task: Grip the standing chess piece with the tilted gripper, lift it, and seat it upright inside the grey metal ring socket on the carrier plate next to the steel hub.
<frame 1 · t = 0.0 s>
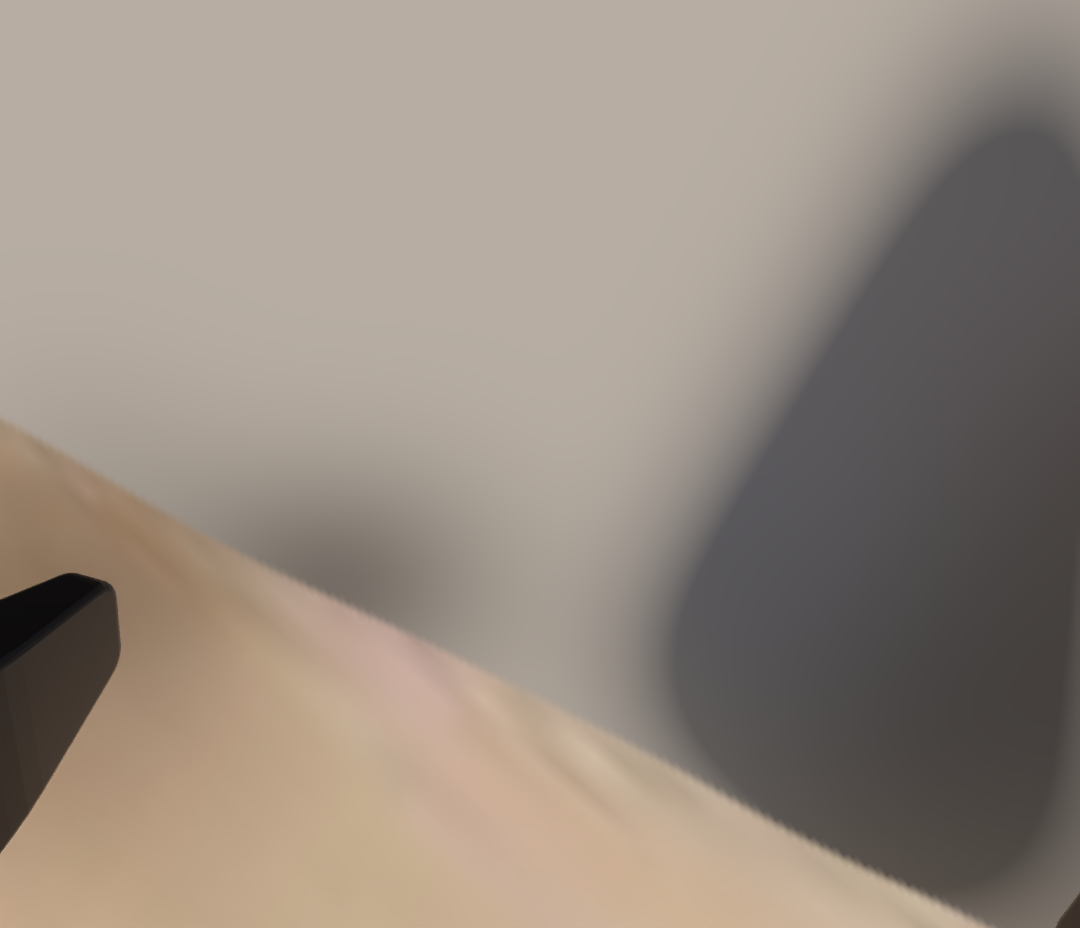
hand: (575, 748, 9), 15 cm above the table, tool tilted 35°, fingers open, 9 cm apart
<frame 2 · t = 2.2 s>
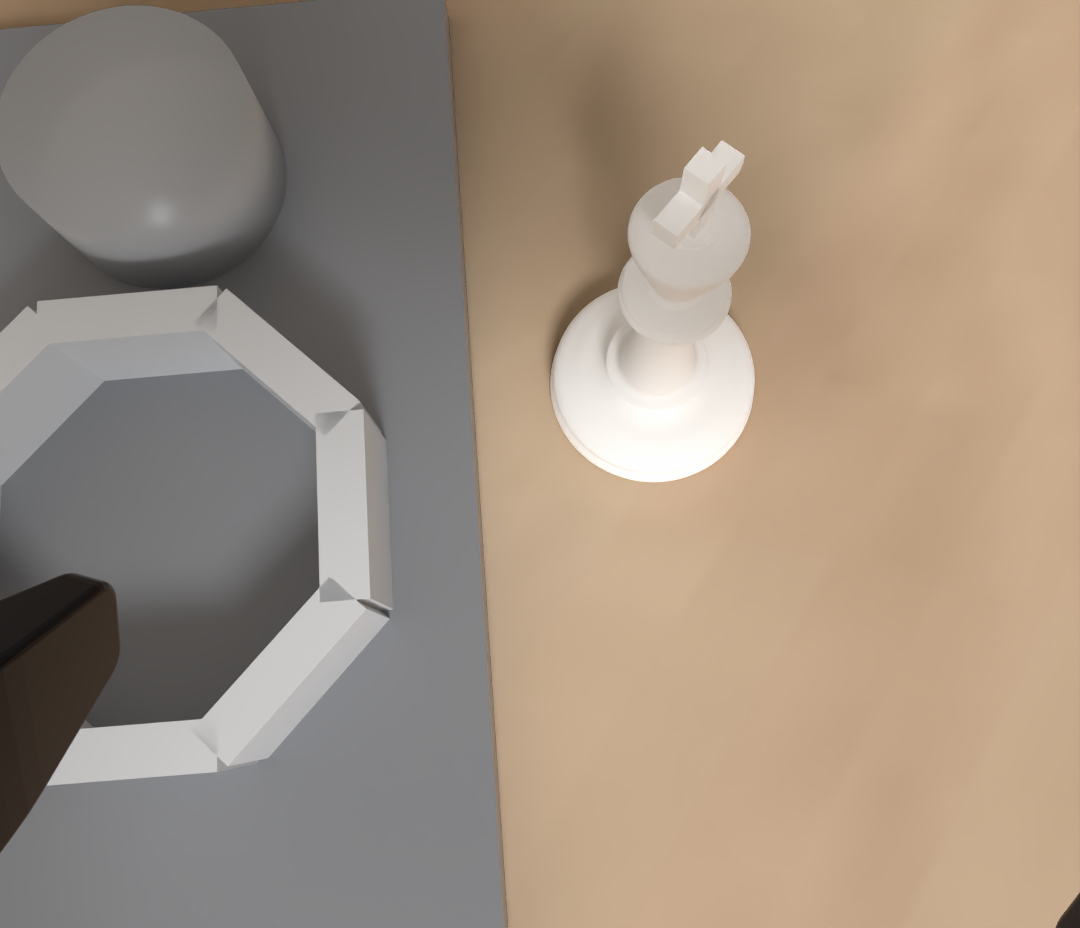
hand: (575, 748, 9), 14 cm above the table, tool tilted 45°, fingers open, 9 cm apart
carrier plate: (188, 547, 23), on the table
chess piece: (650, 386, 24), on the table
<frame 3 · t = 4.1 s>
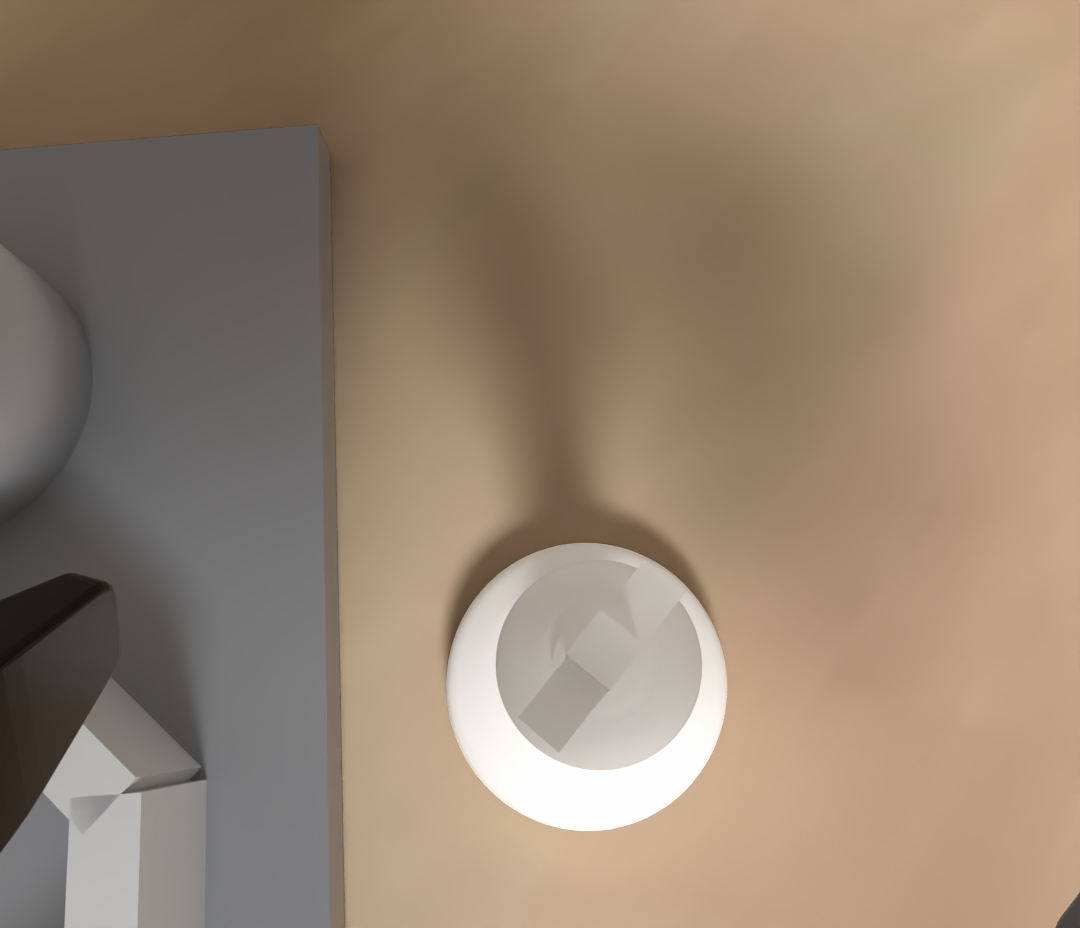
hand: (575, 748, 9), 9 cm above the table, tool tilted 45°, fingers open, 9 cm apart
chess piece: (585, 682, 17), on the table
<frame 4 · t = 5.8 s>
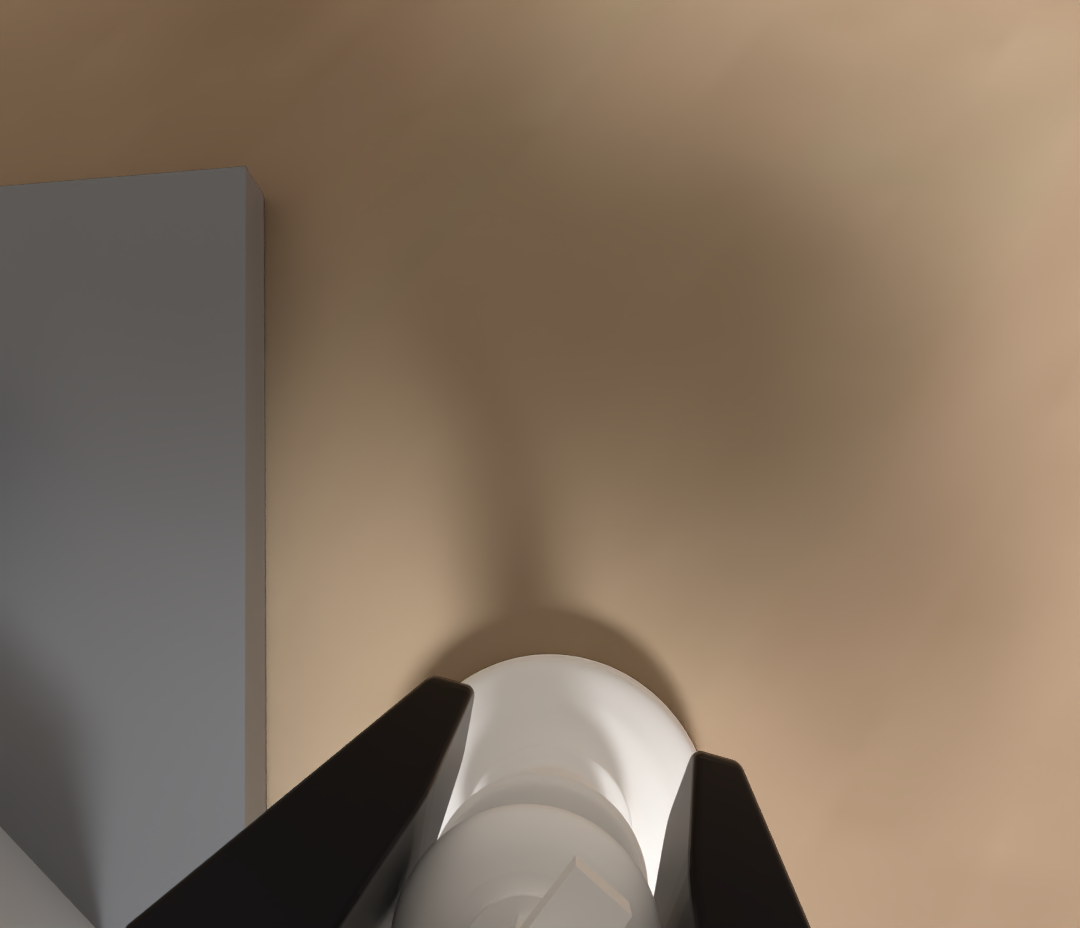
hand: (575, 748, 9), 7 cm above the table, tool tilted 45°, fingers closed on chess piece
chess piece: (550, 817, 15), on the table, touching gripper
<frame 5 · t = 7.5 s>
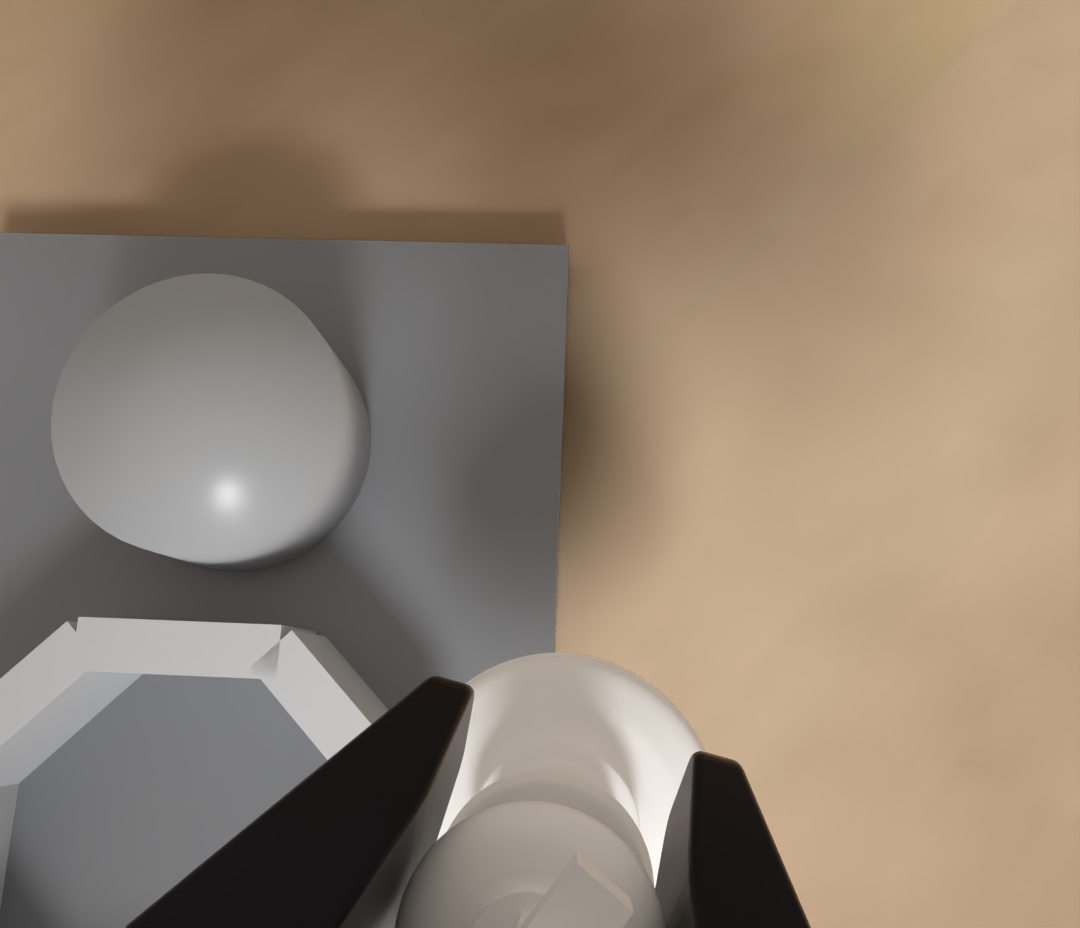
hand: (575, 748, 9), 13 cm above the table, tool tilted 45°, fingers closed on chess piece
carrier plate: (216, 868, 21), on the table
chess piece: (558, 815, 15), point 6 cm above the table, touching gripper
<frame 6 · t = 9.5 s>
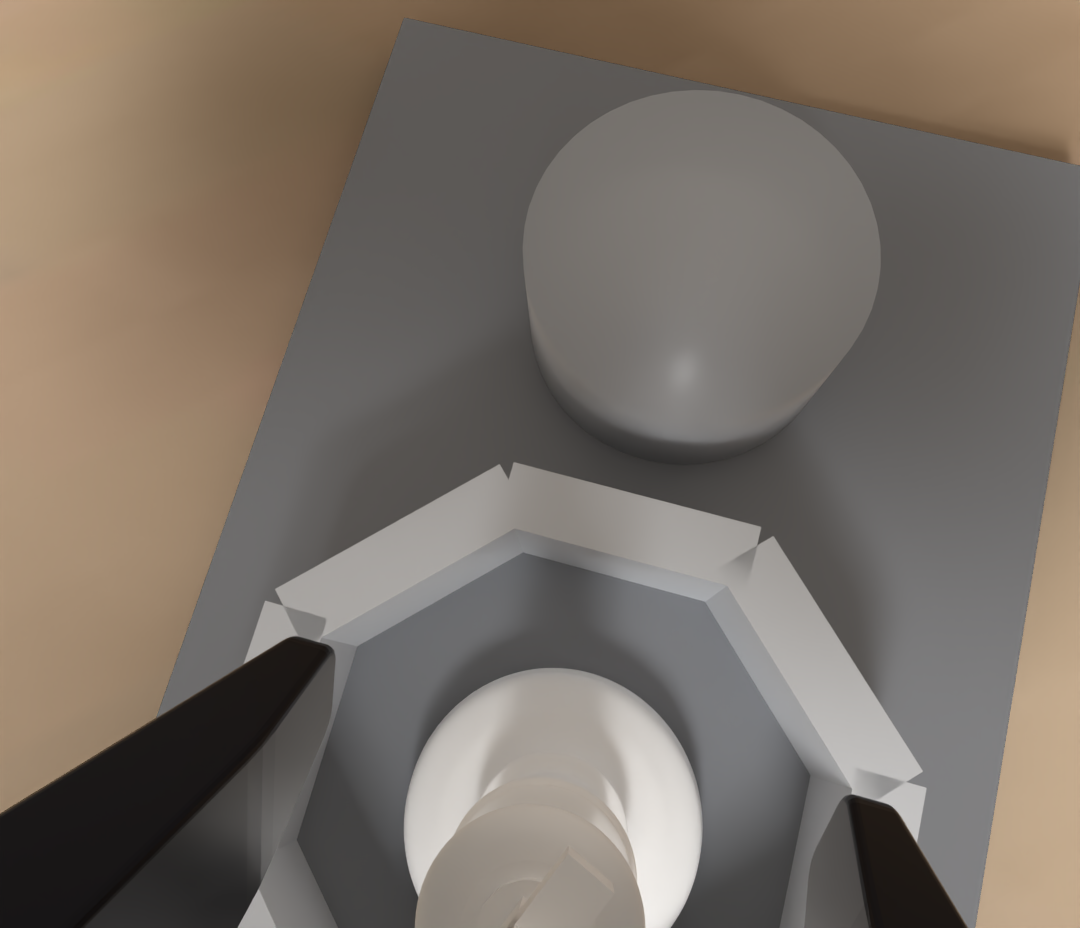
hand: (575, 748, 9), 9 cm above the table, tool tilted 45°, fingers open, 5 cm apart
carrier plate: (554, 801, 17), on the table
chess piece: (553, 817, 16), point 1 cm above the table, touching carrier plate
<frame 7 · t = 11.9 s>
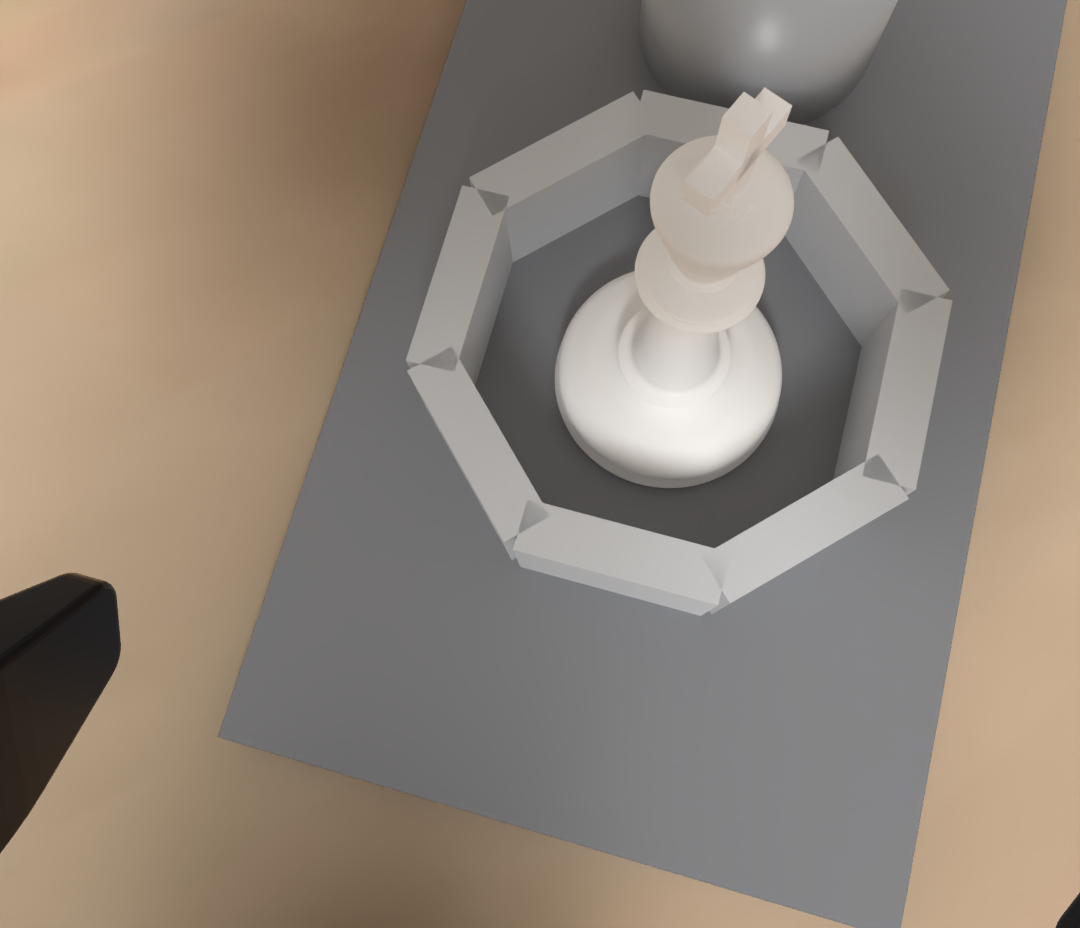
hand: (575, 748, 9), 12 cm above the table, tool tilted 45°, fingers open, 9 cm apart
carrier plate: (662, 385, 22), on the table
chess piece: (665, 382, 22), point 1 cm above the table, touching carrier plate
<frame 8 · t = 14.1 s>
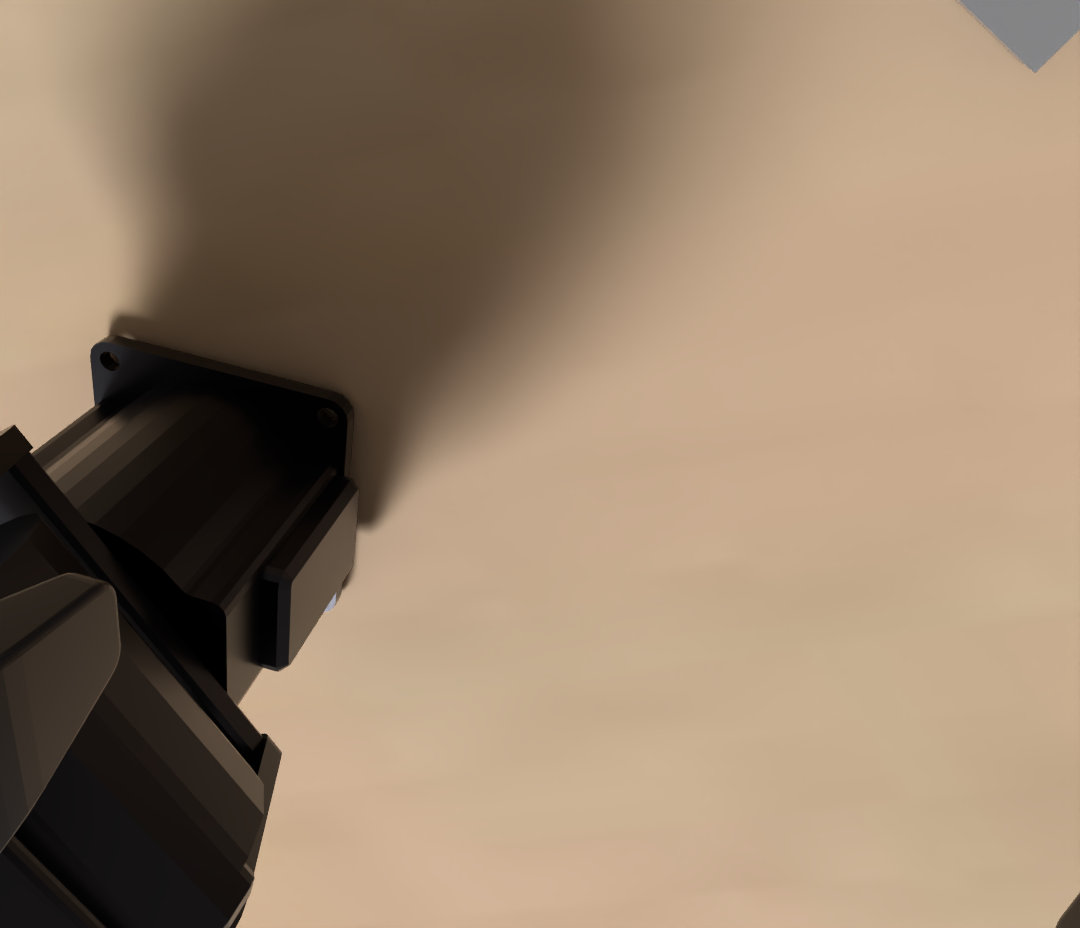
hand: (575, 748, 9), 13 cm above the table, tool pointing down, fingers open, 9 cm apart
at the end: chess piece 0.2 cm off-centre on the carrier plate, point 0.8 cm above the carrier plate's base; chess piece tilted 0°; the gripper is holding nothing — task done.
